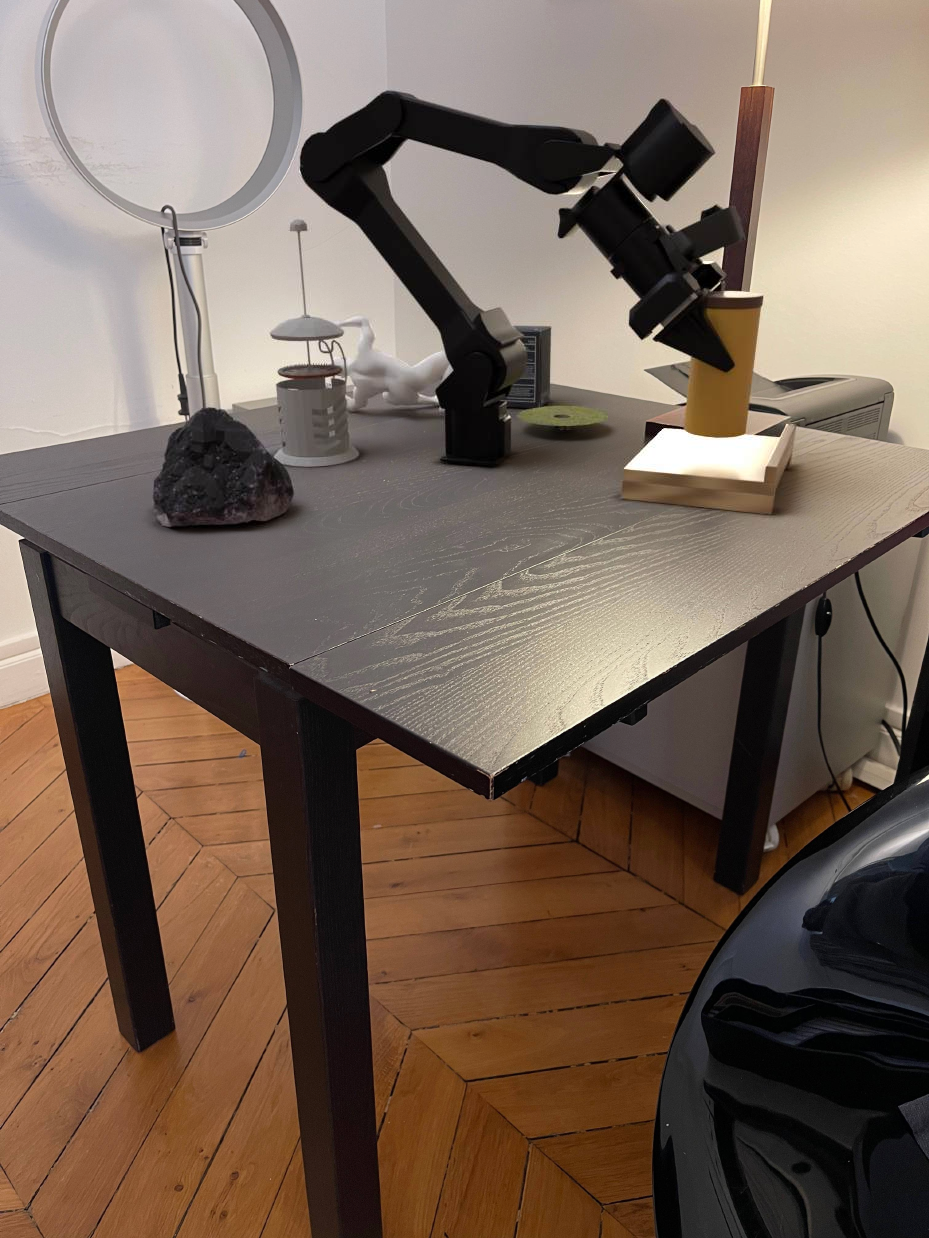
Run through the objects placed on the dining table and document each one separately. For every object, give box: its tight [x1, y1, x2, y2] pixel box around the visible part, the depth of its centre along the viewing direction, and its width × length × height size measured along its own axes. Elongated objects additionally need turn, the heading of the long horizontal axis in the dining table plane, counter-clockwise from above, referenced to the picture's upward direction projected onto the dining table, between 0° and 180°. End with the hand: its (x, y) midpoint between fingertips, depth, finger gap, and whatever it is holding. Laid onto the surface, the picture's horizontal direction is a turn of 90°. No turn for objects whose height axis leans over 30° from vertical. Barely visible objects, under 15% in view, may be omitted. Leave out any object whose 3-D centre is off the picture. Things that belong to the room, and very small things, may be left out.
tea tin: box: [683, 290, 764, 438], centre depth 90 cm, size 6×6×13 cm
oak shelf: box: [620, 423, 797, 515], centre depth 94 cm, size 14×18×4 cm
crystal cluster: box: [152, 406, 295, 528], centre depth 87 cm, size 13×14×10 cm
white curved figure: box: [325, 315, 453, 414], centre depth 124 cm, size 13×13×18 cm
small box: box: [499, 324, 552, 409], centre depth 130 cm, size 11×6×10 cm, turn 71°
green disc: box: [516, 405, 609, 431], centre depth 116 cm, size 11×11×2 cm
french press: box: [269, 218, 360, 468], centre depth 102 cm, size 10×12×25 cm
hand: (736, 364), depth 90 cm, fingers closed on tea tin, 6 cm apart
